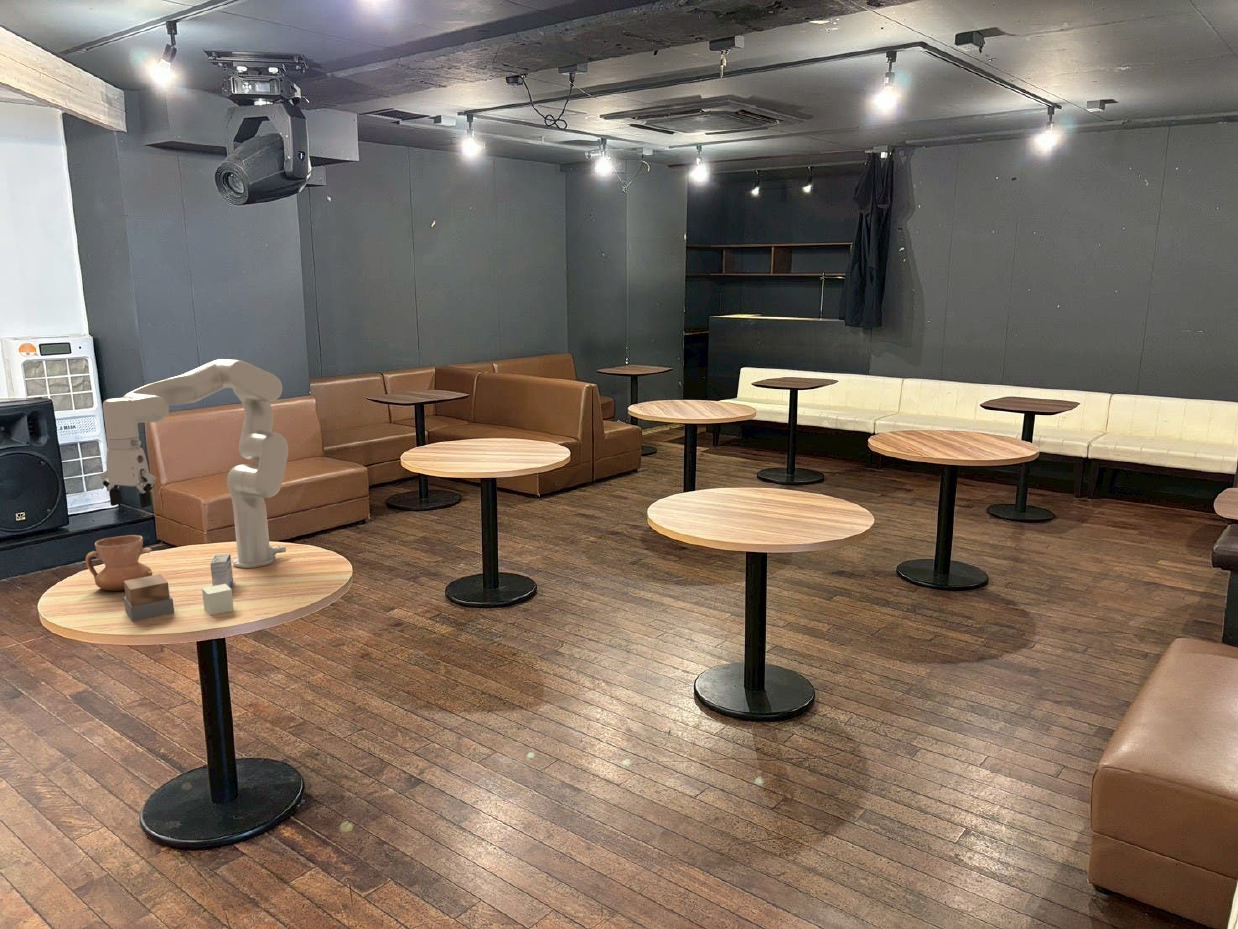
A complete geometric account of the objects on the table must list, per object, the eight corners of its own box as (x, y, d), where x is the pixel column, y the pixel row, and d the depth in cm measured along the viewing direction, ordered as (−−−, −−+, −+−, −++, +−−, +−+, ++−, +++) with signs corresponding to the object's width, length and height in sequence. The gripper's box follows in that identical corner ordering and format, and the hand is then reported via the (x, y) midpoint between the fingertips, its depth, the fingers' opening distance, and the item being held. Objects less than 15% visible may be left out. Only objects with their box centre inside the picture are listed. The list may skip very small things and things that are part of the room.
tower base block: (166, 604, 240) (164, 588, 239) (174, 614, 233) (172, 598, 232) (125, 612, 234) (123, 596, 233) (132, 623, 227) (130, 607, 226)
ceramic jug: (165, 577, 262) (159, 531, 259) (144, 593, 248) (138, 545, 245) (102, 580, 260) (96, 535, 257) (78, 597, 246) (71, 548, 243)
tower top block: (162, 589, 239) (160, 574, 238) (169, 598, 232) (167, 582, 231) (125, 596, 233) (123, 580, 232) (131, 606, 226) (129, 589, 225)
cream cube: (227, 604, 239) (225, 583, 238) (233, 610, 234) (231, 589, 233) (204, 609, 235) (202, 588, 234) (209, 615, 231) (207, 594, 230)
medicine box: (229, 590, 250) (226, 561, 248) (213, 591, 249) (210, 563, 247) (233, 581, 258) (230, 553, 256) (217, 583, 256) (214, 555, 255)
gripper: (161, 442, 235) (168, 504, 239) (108, 440, 239) (115, 500, 243) (139, 447, 228) (147, 510, 231) (85, 445, 232) (93, 507, 236)
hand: (131, 505), depth 237 cm, fingers open, 9 cm apart
